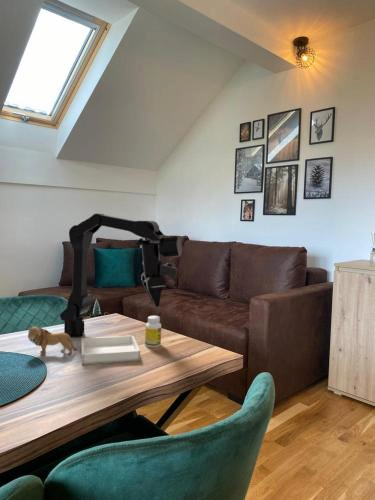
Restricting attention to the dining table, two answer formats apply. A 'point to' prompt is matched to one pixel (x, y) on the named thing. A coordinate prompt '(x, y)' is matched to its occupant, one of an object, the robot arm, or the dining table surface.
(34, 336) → the lion figurine
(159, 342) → the supplement bottle
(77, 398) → the dining table surface
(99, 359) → the tray
